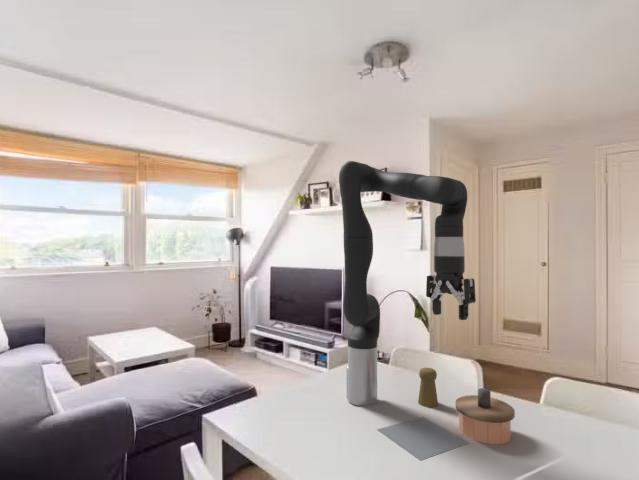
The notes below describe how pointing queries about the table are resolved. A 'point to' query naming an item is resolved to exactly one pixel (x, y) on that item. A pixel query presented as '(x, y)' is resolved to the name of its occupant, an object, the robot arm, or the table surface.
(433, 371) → the cork
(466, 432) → the bowl
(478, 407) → the lid
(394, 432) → the mat
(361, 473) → the table surface
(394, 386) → the table surface
